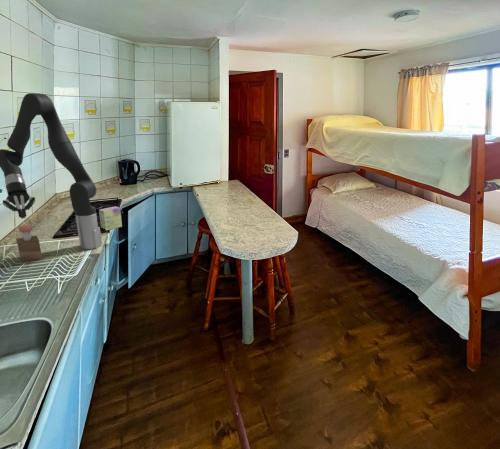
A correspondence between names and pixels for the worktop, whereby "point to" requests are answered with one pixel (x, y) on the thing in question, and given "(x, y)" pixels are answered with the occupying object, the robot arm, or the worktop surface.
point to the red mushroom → (26, 232)
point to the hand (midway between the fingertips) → (23, 217)
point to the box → (110, 218)
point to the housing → (29, 249)
